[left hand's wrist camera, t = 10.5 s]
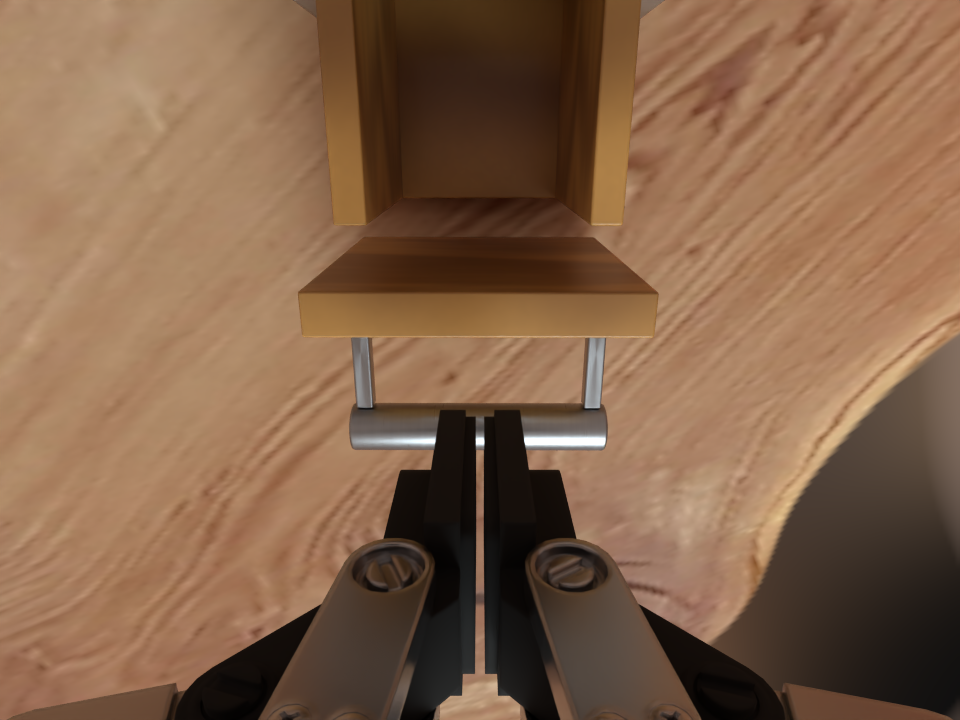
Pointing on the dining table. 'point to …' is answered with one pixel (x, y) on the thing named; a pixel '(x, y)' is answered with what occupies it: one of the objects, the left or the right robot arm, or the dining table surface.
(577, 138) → the drawer
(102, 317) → the dining table surface
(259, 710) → the left robot arm
